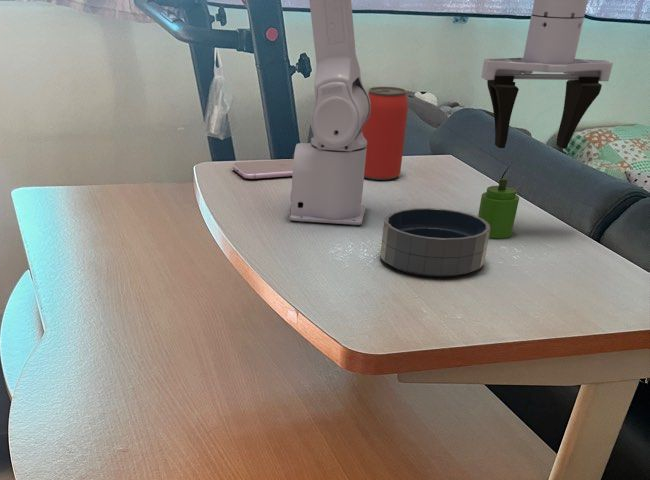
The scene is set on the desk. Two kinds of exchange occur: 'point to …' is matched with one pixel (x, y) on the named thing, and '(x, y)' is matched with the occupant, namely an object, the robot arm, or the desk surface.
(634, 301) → the desk surface
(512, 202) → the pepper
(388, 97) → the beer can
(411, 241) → the bowl
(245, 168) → the mobile phone
